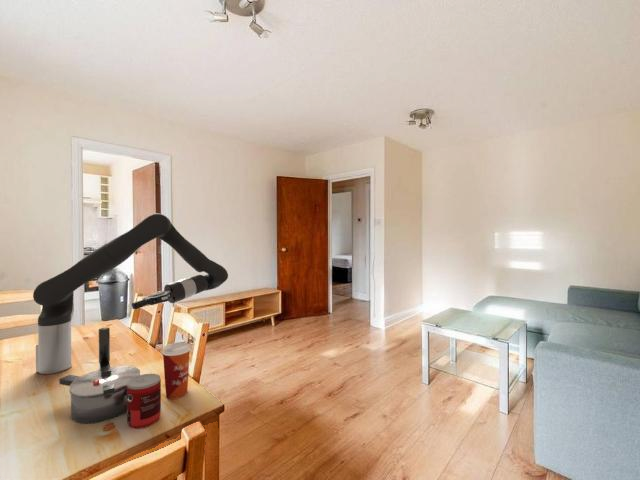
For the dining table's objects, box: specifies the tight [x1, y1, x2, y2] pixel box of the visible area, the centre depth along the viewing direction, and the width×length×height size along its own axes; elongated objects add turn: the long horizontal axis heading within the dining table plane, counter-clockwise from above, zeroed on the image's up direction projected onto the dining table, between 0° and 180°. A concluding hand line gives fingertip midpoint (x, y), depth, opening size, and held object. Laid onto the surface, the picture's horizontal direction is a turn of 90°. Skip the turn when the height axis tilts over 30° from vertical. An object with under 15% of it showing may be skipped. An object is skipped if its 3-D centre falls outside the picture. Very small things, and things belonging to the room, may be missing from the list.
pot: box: [58, 374, 127, 425], centre depth 89 cm, size 28×16×7 cm, turn 76°
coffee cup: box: [161, 341, 192, 399], centre depth 96 cm, size 8×8×15 cm
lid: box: [68, 327, 141, 397], centre depth 89 cm, size 23×17×13 cm
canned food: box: [126, 373, 162, 429], centre depth 82 cm, size 8×8×11 cm
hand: (133, 306), depth 104 cm, fingers closed
